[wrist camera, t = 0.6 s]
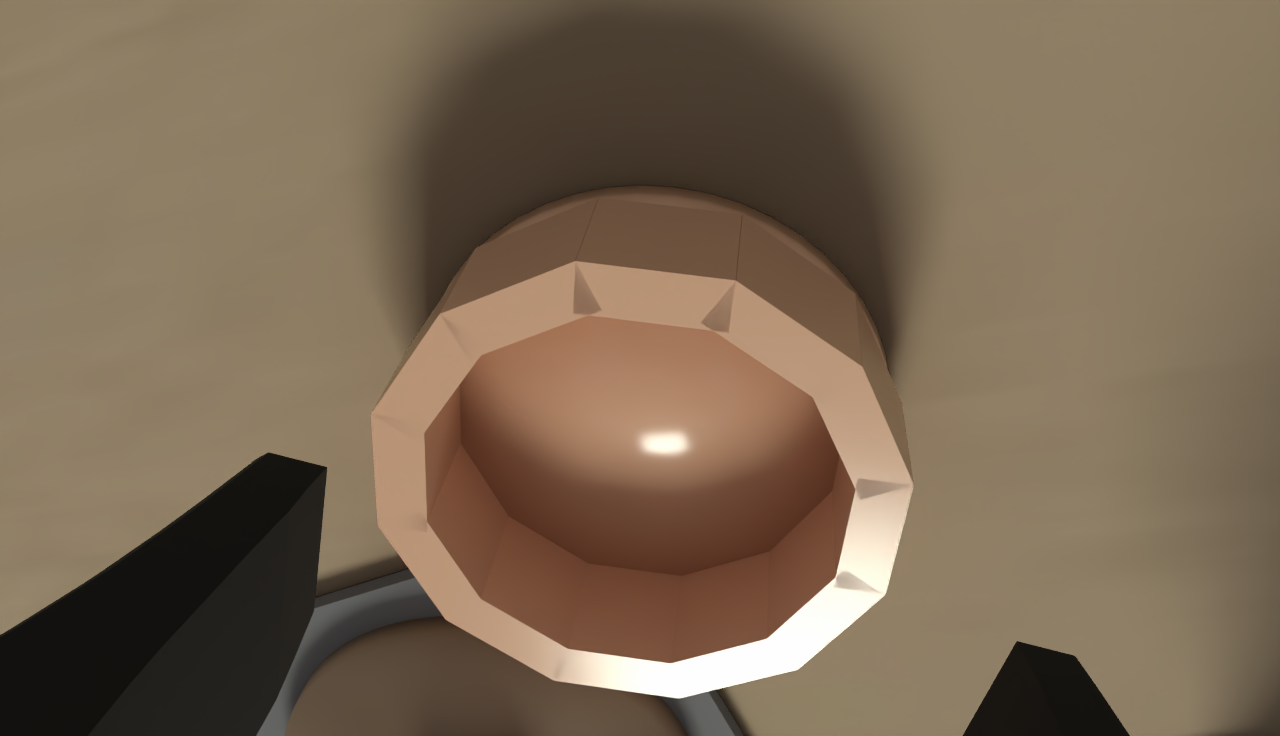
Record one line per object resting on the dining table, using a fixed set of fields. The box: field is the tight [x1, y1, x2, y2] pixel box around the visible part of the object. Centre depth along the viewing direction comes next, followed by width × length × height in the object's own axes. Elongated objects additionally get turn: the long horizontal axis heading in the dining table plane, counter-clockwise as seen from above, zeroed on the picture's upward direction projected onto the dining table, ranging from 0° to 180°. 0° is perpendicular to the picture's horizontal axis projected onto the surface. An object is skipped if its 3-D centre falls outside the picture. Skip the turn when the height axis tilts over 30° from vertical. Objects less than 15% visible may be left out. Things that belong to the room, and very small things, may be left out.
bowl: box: [371, 185, 914, 698], centre depth 21 cm, size 9×9×3 cm
